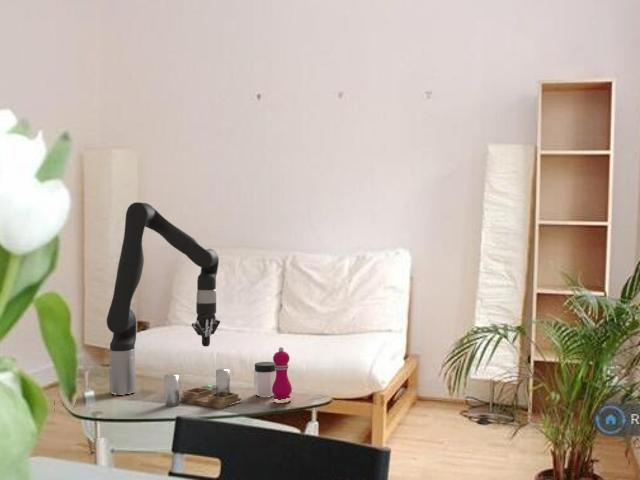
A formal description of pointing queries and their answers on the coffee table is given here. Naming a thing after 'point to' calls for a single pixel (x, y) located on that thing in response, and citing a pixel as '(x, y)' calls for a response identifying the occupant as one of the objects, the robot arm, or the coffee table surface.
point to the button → (208, 386)
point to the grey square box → (211, 388)
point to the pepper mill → (281, 375)
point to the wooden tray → (208, 398)
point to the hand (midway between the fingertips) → (205, 346)
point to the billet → (171, 390)
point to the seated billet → (223, 382)
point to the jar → (264, 378)
